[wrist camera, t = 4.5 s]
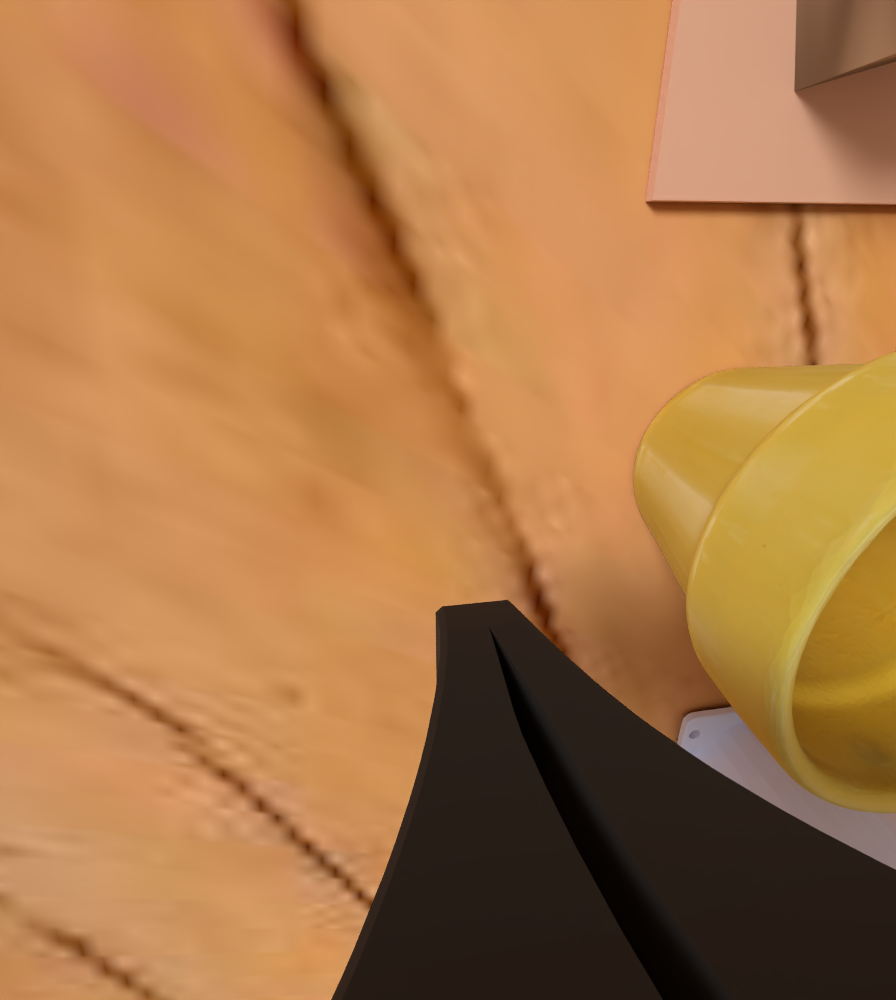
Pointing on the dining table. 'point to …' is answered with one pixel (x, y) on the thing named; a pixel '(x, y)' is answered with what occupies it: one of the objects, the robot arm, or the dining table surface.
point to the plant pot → (789, 559)
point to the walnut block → (842, 38)
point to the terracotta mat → (765, 115)
